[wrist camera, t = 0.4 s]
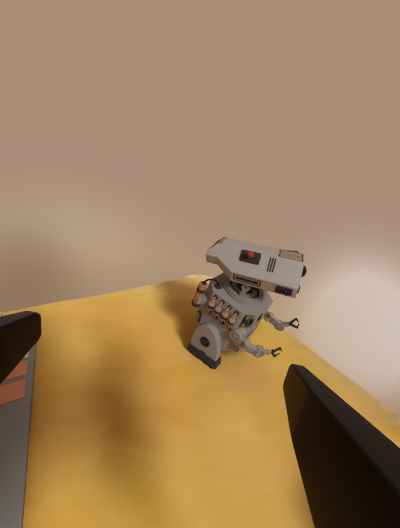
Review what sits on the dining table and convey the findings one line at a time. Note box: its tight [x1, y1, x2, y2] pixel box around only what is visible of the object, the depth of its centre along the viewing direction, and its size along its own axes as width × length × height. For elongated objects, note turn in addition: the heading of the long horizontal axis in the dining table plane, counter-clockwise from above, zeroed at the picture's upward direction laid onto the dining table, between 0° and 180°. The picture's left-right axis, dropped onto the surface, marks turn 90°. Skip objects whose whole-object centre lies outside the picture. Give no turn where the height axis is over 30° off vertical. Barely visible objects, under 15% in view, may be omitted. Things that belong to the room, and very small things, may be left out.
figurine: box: [187, 237, 306, 369], centre depth 27 cm, size 9×12×15 cm
